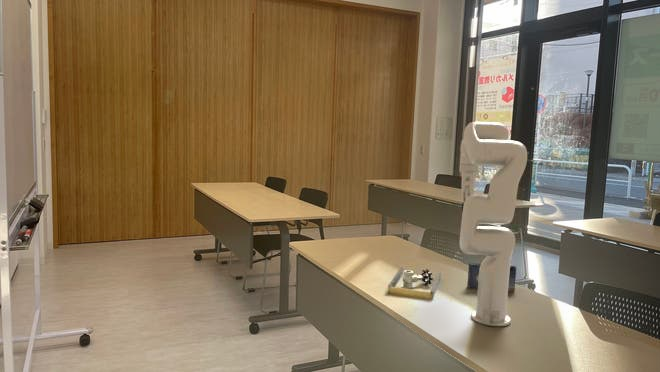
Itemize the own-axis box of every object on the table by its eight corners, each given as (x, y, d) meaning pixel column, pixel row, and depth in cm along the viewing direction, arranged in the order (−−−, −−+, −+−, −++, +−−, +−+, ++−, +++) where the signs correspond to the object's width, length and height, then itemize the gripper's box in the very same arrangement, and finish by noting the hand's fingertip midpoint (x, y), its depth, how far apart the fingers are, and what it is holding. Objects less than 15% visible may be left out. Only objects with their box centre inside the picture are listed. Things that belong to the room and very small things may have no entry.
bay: (432, 299, 184) (433, 291, 184) (387, 293, 189) (388, 285, 189) (440, 278, 210) (440, 271, 210) (400, 273, 216) (400, 267, 215)
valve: (408, 290, 194) (432, 287, 199) (409, 274, 193) (433, 271, 199) (398, 285, 200) (422, 282, 205) (399, 269, 199) (423, 266, 204)
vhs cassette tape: (513, 289, 200) (515, 265, 199) (515, 291, 197) (517, 267, 196) (466, 286, 202) (468, 262, 201) (468, 288, 199) (469, 264, 198)
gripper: (477, 170, 196) (474, 216, 198) (478, 168, 210) (475, 210, 212) (458, 169, 198) (455, 214, 200) (460, 167, 212) (457, 209, 215)
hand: (465, 212), depth 206 cm, fingers closed
